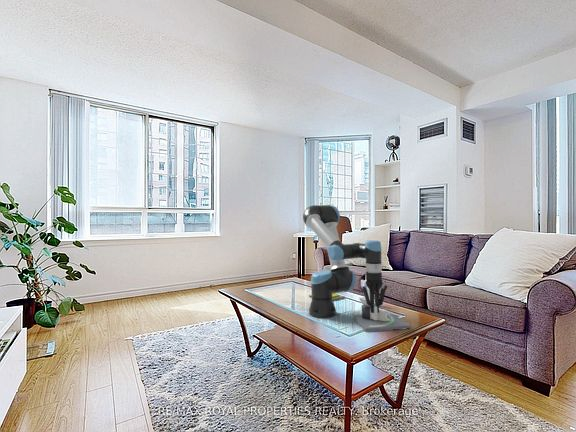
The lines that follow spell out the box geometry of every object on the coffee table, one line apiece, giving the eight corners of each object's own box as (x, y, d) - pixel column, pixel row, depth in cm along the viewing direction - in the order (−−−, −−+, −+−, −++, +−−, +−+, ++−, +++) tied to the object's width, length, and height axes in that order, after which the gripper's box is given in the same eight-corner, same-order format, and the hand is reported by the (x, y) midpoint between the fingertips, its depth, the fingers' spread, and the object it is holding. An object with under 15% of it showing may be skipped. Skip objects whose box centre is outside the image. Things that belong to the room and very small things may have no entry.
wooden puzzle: (325, 303, 191) (324, 297, 191) (307, 297, 207) (307, 292, 208) (345, 299, 200) (345, 293, 200) (327, 293, 217) (327, 288, 217)
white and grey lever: (360, 318, 154) (360, 306, 155) (364, 315, 159) (363, 303, 159) (388, 322, 147) (387, 310, 147) (391, 319, 151) (390, 307, 151)
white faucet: (368, 307, 179) (367, 281, 179) (357, 303, 187) (357, 279, 188) (377, 305, 183) (376, 280, 183) (366, 301, 191) (365, 278, 191)
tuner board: (365, 331, 141) (365, 327, 141) (353, 319, 159) (353, 315, 159) (410, 328, 143) (410, 325, 143) (393, 316, 161) (393, 313, 161)
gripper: (364, 273, 145) (365, 322, 145) (389, 272, 147) (390, 321, 146) (358, 271, 153) (359, 317, 152) (383, 269, 154) (384, 316, 154)
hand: (375, 319), depth 149 cm, fingers closed
